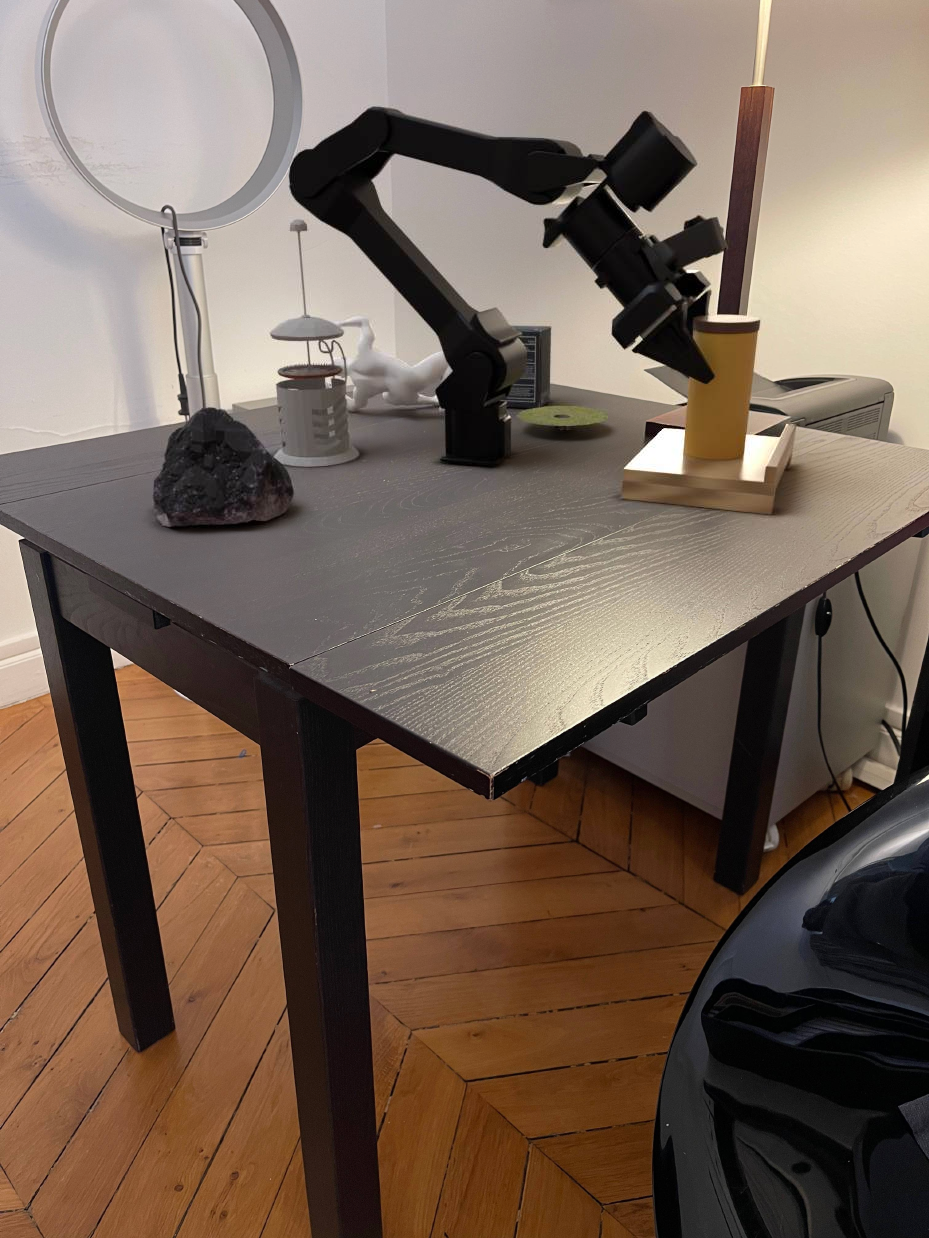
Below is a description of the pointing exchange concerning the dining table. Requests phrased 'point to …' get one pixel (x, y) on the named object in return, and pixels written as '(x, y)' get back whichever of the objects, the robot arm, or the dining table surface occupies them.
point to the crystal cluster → (219, 475)
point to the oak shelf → (709, 474)
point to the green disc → (562, 416)
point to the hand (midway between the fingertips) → (719, 372)
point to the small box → (533, 369)
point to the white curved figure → (387, 372)
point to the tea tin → (721, 387)
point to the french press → (312, 394)
